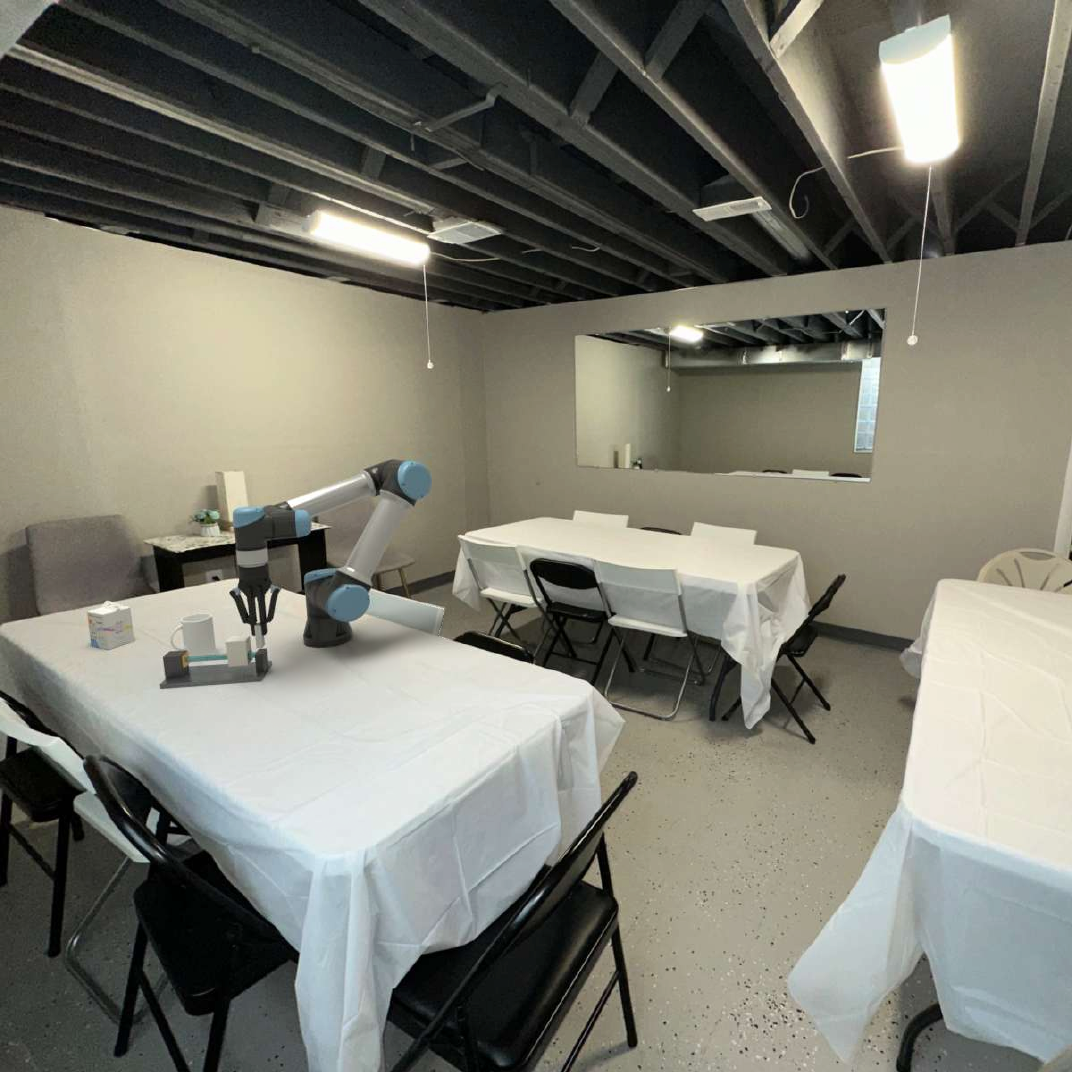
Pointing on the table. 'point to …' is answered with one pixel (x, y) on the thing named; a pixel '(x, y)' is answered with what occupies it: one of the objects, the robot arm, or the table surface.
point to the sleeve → (238, 650)
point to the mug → (197, 635)
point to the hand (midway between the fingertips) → (260, 646)
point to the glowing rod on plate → (211, 669)
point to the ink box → (110, 626)
